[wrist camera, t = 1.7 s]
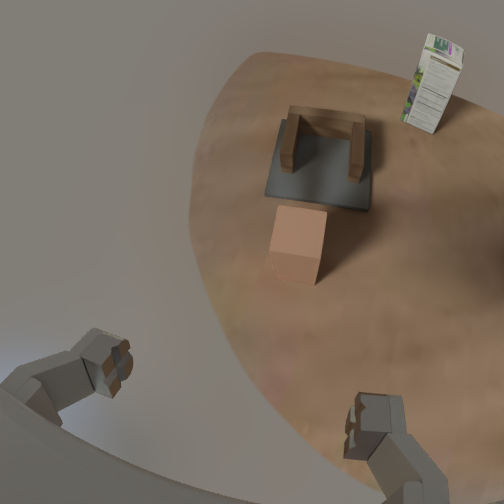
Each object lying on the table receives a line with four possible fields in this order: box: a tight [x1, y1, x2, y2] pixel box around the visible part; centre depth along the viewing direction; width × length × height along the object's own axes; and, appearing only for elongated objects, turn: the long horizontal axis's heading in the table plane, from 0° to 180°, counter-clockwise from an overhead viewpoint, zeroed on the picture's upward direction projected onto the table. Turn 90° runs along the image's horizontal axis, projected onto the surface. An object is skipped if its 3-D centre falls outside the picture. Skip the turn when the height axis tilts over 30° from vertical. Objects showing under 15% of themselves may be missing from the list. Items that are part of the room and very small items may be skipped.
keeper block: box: [269, 205, 327, 285], centre depth 32 cm, size 4×4×9 cm
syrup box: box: [401, 34, 464, 134], centre depth 35 cm, size 6×6×14 cm
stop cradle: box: [265, 105, 371, 212], centre depth 39 cm, size 13×13×5 cm
